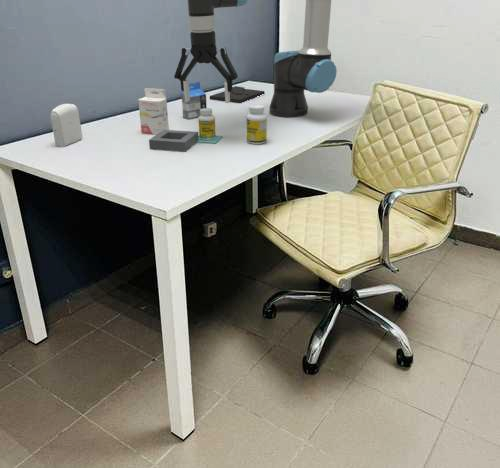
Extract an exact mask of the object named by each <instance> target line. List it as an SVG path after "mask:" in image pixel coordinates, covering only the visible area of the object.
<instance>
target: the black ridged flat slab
mask: <svg viewBox="0 0 500 468" xmlns="http://www.w3.org/2000/svg"><path fill="white" fill-rule="evenodd" d="M262 94H266V93H265V90H260V89H259V90H258V89H250V88H245V87H243V86H237V85H235V86H232V91H231V92H230V102H229V103H232V104H233V103H234V104H243V103H245V101H246V102H248V101H251V100H253V98H254V99H256V98H255V97H257V96H259V97H261V96H260V95H262ZM262 96H263V95H262ZM257 98H258V97H257ZM250 99H251V100H250ZM209 100H210V101H218V102H225V90H224V91H221V92H217V93H215V94H212V95H209ZM247 100H248V101H247ZM242 102H243V103H242Z"/></svg>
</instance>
